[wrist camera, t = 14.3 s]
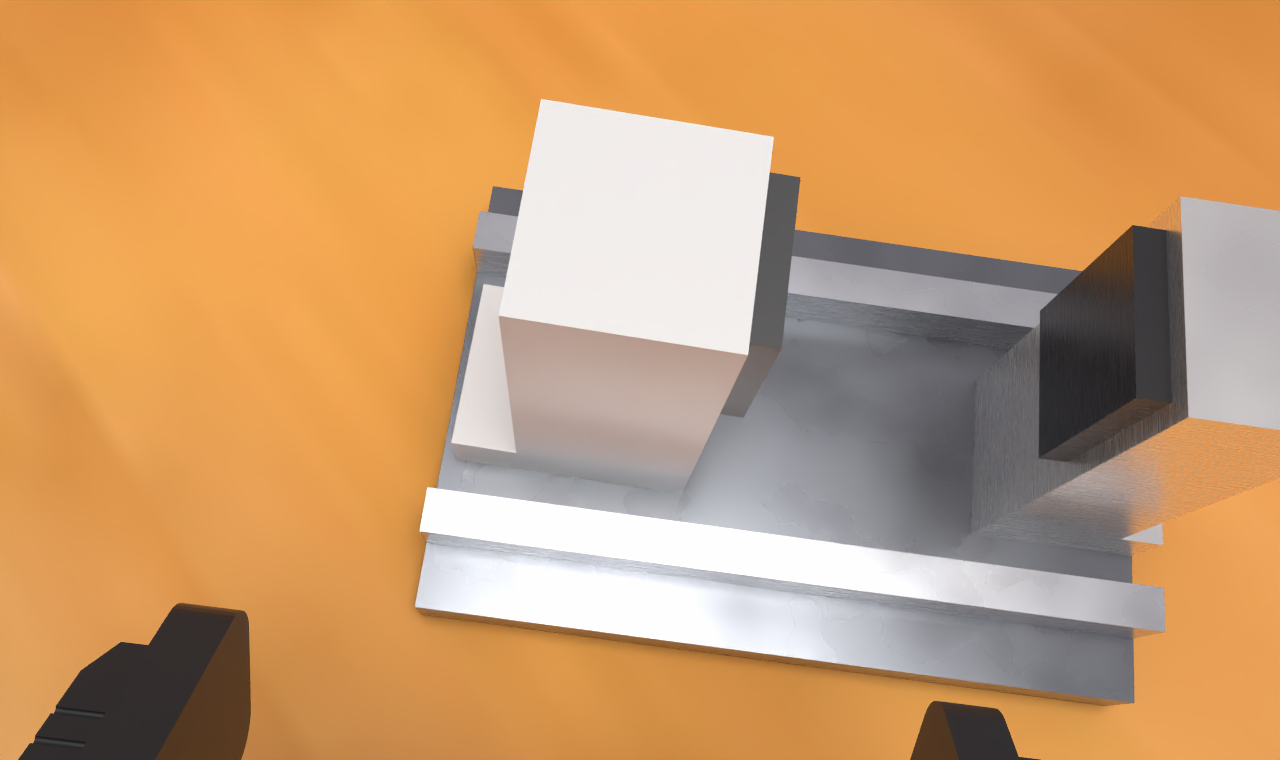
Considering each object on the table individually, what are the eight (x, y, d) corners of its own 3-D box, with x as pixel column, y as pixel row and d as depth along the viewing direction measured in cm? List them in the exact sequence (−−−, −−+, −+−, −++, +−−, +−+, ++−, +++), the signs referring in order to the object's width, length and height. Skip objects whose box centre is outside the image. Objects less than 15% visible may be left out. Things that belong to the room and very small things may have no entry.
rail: (422, 614, 28) (335, 521, 17) (496, 212, 31) (463, -81, 20) (1104, 705, 28) (1454, 673, 17) (1100, 299, 32) (1387, 58, 21)
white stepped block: (456, 459, 27) (404, 300, 18) (487, 307, 29) (453, 84, 19) (705, 497, 27) (785, 361, 18) (725, 345, 29) (808, 142, 19)
